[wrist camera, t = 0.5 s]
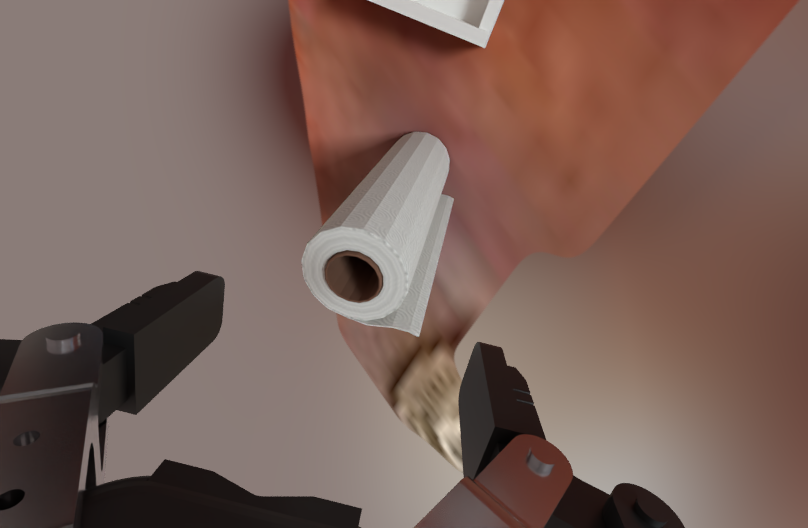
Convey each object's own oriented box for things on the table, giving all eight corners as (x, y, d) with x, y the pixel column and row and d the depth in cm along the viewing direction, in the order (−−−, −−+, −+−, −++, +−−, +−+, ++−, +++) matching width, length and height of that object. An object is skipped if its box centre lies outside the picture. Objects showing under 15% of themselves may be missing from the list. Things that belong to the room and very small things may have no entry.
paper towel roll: (385, 134, 37) (284, 231, 20) (447, 126, 36) (397, 224, 18) (397, 202, 41) (321, 338, 23) (454, 198, 39) (418, 340, 22)
